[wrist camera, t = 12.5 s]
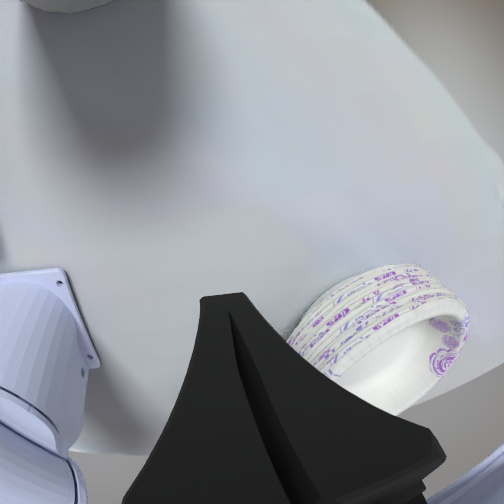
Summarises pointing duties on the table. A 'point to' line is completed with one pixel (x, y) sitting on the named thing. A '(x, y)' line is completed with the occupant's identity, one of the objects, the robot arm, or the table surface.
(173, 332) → the table surface
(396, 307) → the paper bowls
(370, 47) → the table surface
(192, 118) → the table surface
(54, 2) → the cup
